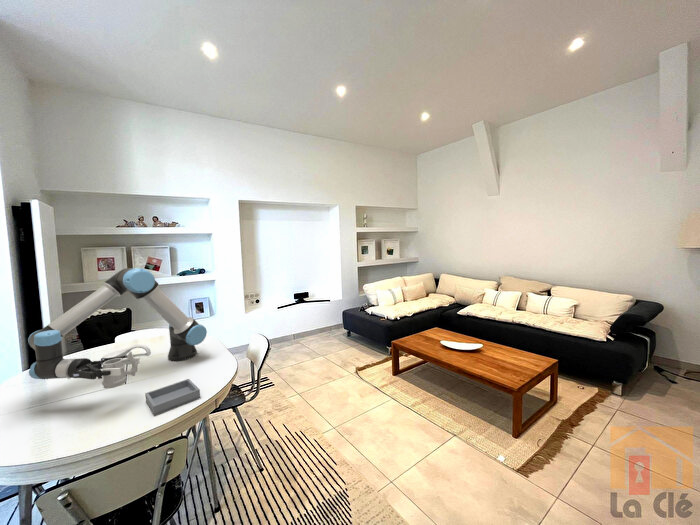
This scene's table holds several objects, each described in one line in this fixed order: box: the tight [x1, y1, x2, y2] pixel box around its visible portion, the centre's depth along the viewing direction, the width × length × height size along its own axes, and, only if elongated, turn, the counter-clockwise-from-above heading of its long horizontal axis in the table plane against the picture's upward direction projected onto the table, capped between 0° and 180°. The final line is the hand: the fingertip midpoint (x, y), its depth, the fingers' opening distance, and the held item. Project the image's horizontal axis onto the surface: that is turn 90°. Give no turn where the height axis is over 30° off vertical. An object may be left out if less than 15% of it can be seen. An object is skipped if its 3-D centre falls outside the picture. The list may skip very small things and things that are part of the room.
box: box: [144, 378, 201, 417], centre depth 122 cm, size 17×15×4 cm
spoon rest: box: [100, 344, 152, 360], centre depth 171 cm, size 24×12×7 cm, turn 115°
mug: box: [101, 350, 139, 390], centre depth 116 cm, size 8×12×12 cm, turn 139°
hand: (129, 366), depth 116 cm, fingers closed on mug, 10 cm apart
